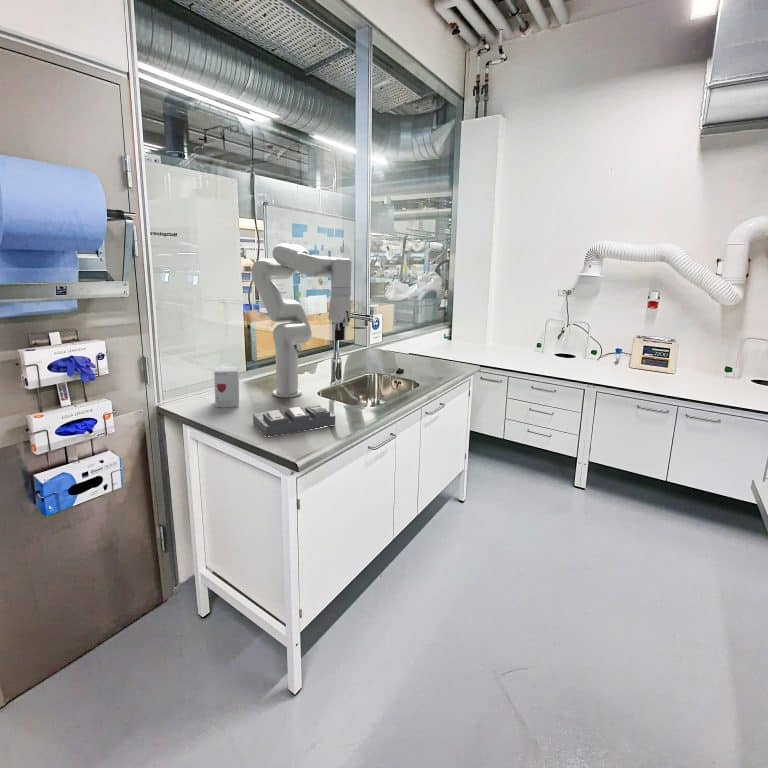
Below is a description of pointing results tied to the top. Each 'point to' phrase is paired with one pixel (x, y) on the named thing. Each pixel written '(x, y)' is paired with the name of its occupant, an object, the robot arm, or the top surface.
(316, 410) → the rocker
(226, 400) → the supplement box
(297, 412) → the middle rocker
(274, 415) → the rocker
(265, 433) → the rocker switch panel
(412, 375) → the top surface
